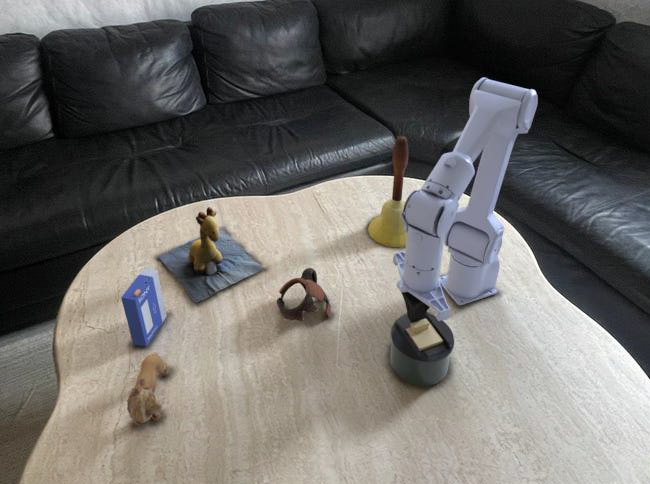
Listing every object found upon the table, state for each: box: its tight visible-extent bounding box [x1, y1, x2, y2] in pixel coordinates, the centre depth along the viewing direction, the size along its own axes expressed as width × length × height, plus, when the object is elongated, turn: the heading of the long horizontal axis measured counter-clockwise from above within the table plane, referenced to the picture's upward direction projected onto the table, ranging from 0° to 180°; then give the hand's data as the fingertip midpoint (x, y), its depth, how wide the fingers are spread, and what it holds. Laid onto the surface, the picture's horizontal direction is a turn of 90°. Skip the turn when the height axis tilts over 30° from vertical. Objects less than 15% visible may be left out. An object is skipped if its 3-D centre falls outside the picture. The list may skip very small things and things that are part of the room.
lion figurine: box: [126, 352, 170, 427], centre depth 81 cm, size 15×5×9 cm, turn 13°
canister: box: [389, 311, 455, 387], centre depth 88 cm, size 11×11×8 cm
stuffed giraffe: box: [157, 206, 264, 304], centre depth 109 cm, size 16×18×16 cm
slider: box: [406, 318, 443, 351], centre depth 86 cm, size 4×5×2 cm
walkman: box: [120, 267, 168, 348], centre depth 94 cm, size 8×3×12 cm, turn 166°
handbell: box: [367, 135, 410, 248], centre depth 116 cm, size 12×12×25 cm
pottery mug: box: [276, 267, 332, 323], centre depth 100 cm, size 12×10×8 cm
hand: (415, 319), depth 88 cm, fingers closed
